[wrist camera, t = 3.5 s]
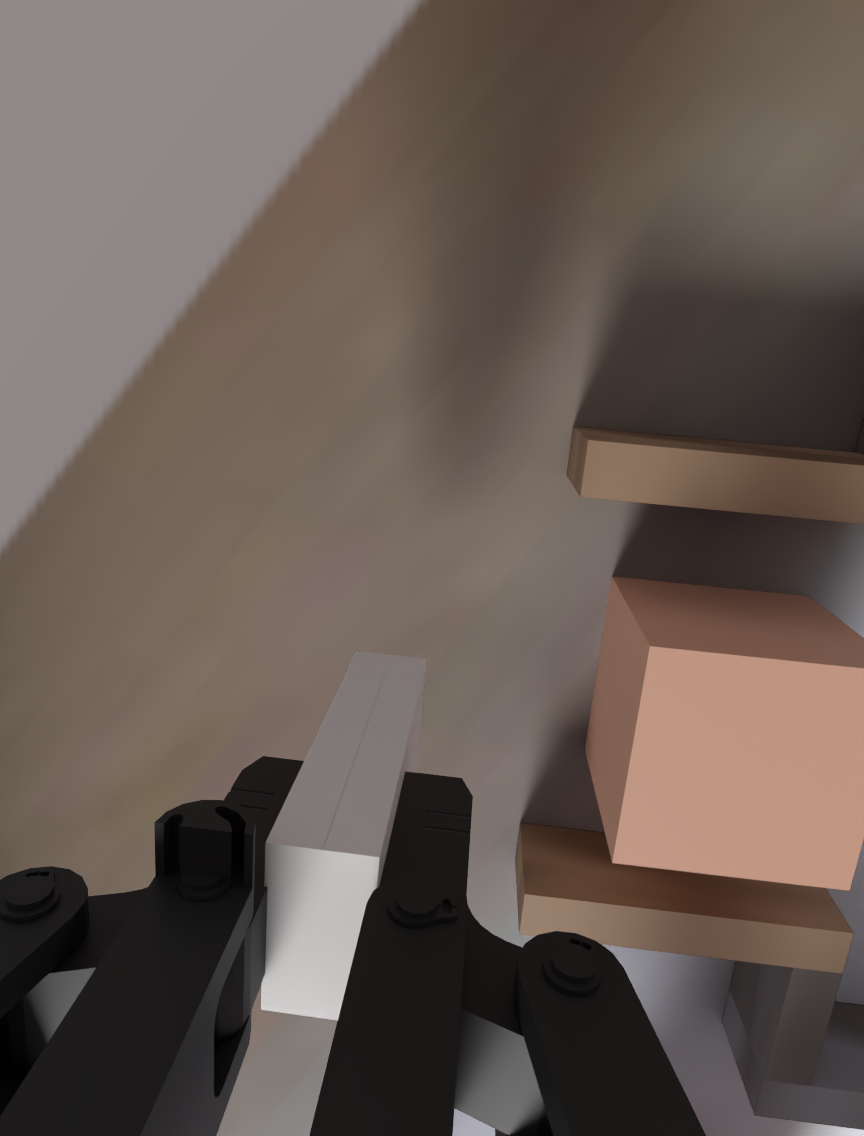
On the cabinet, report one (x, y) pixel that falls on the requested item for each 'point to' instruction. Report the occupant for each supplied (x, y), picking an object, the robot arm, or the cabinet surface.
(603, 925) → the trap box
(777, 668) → the block
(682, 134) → the cabinet surface
